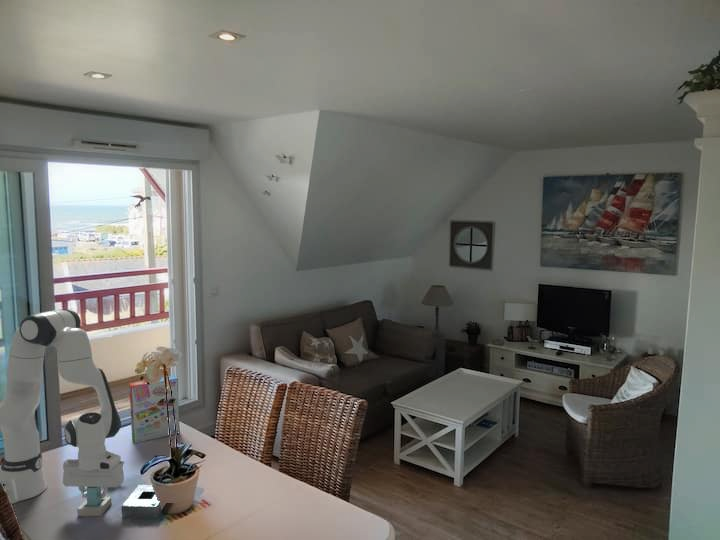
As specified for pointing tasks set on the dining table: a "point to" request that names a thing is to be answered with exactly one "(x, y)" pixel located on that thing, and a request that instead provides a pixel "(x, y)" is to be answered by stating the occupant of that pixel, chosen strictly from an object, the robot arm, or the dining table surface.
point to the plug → (93, 496)
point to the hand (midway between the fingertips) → (94, 497)
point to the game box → (153, 409)
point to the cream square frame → (94, 508)
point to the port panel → (142, 504)
